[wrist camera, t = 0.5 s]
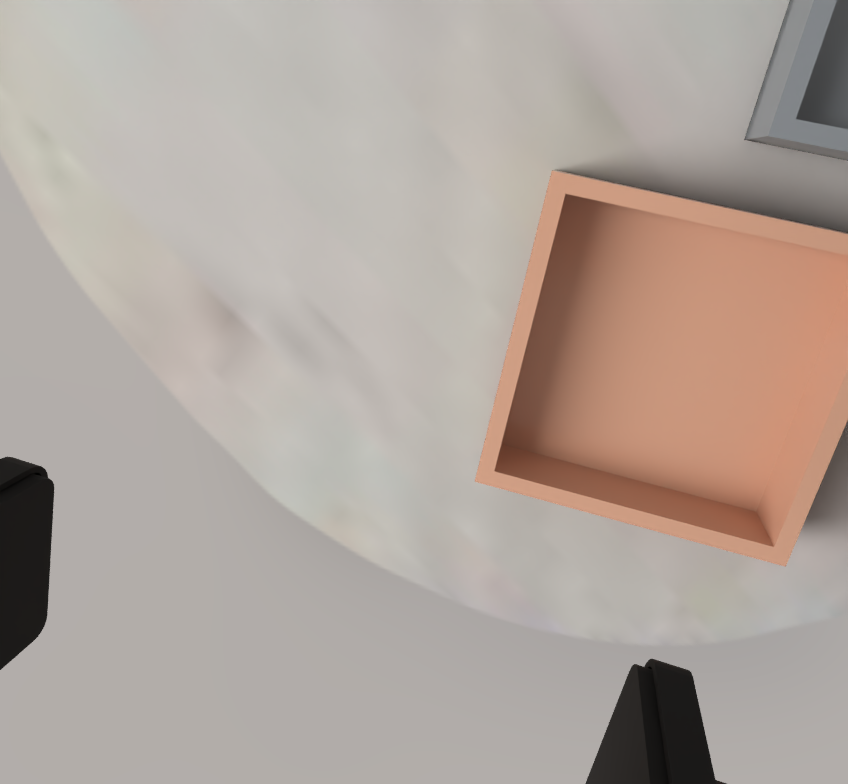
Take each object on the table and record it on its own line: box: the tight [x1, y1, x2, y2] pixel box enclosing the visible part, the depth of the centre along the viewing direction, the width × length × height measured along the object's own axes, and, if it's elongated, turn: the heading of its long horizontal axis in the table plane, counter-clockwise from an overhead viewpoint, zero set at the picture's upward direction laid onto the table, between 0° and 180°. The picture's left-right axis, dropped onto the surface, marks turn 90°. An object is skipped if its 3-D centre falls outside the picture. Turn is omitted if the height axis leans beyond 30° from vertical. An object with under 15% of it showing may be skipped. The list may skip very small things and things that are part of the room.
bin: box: [475, 170, 848, 567], centre depth 35 cm, size 15×15×4 cm
